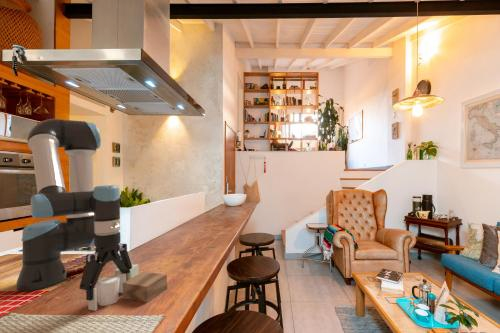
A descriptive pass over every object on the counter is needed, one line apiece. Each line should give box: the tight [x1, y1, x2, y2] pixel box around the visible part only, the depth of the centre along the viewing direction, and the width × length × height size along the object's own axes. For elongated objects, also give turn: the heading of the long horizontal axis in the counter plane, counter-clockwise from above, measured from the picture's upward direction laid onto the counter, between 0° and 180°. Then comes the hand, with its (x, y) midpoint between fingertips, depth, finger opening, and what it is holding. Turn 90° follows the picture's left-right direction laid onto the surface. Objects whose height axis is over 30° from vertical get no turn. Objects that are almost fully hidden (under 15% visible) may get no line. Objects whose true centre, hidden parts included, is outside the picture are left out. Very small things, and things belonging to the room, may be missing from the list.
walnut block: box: [122, 271, 168, 303], centre depth 90 cm, size 10×10×5 cm
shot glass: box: [95, 275, 120, 307], centre depth 86 cm, size 7×7×7 cm
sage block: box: [114, 263, 140, 280], centre depth 99 cm, size 6×6×6 cm
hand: (108, 300), depth 85 cm, fingers open, 11 cm apart
